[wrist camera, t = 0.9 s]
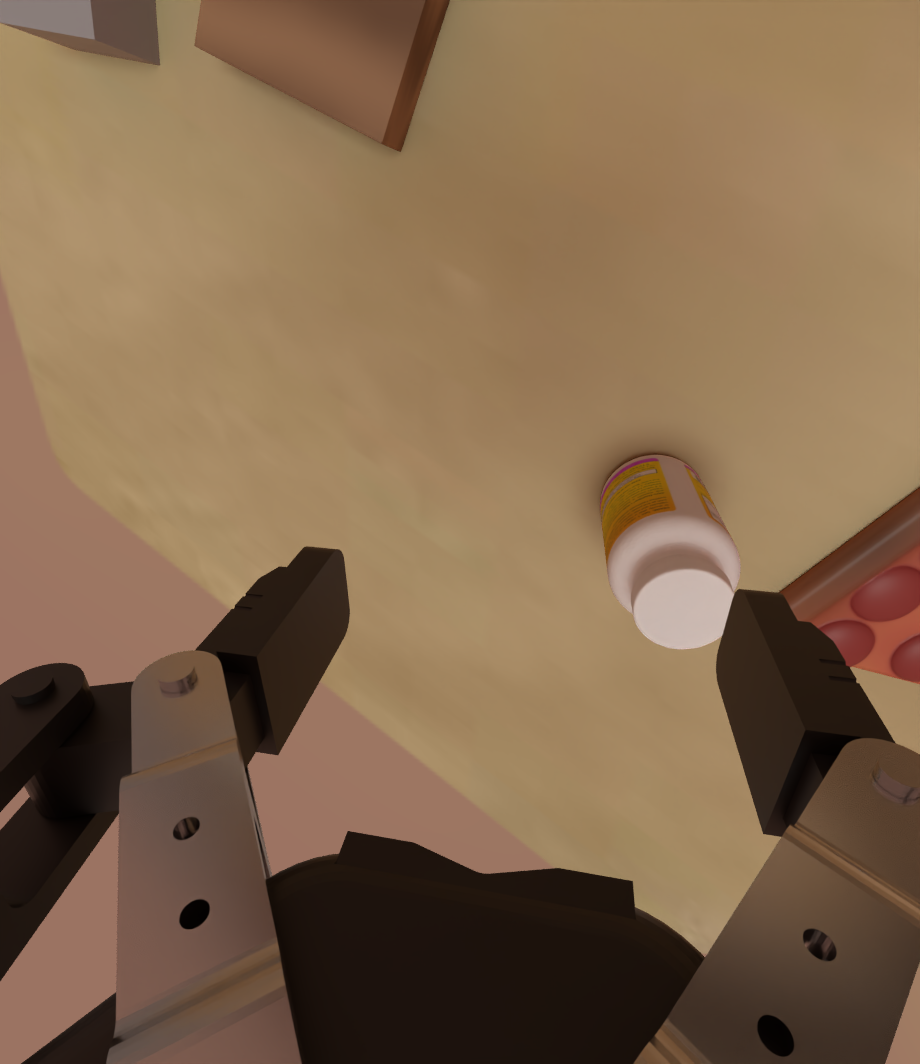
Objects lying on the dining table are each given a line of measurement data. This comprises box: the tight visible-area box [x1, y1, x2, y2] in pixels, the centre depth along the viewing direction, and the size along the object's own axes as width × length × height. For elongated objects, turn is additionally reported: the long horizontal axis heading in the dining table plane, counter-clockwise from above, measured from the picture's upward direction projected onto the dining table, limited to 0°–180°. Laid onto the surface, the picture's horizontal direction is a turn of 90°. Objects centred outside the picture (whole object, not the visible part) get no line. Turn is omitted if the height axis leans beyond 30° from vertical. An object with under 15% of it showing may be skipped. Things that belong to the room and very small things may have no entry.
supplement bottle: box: [600, 455, 740, 649], centre depth 33 cm, size 7×7×13 cm
